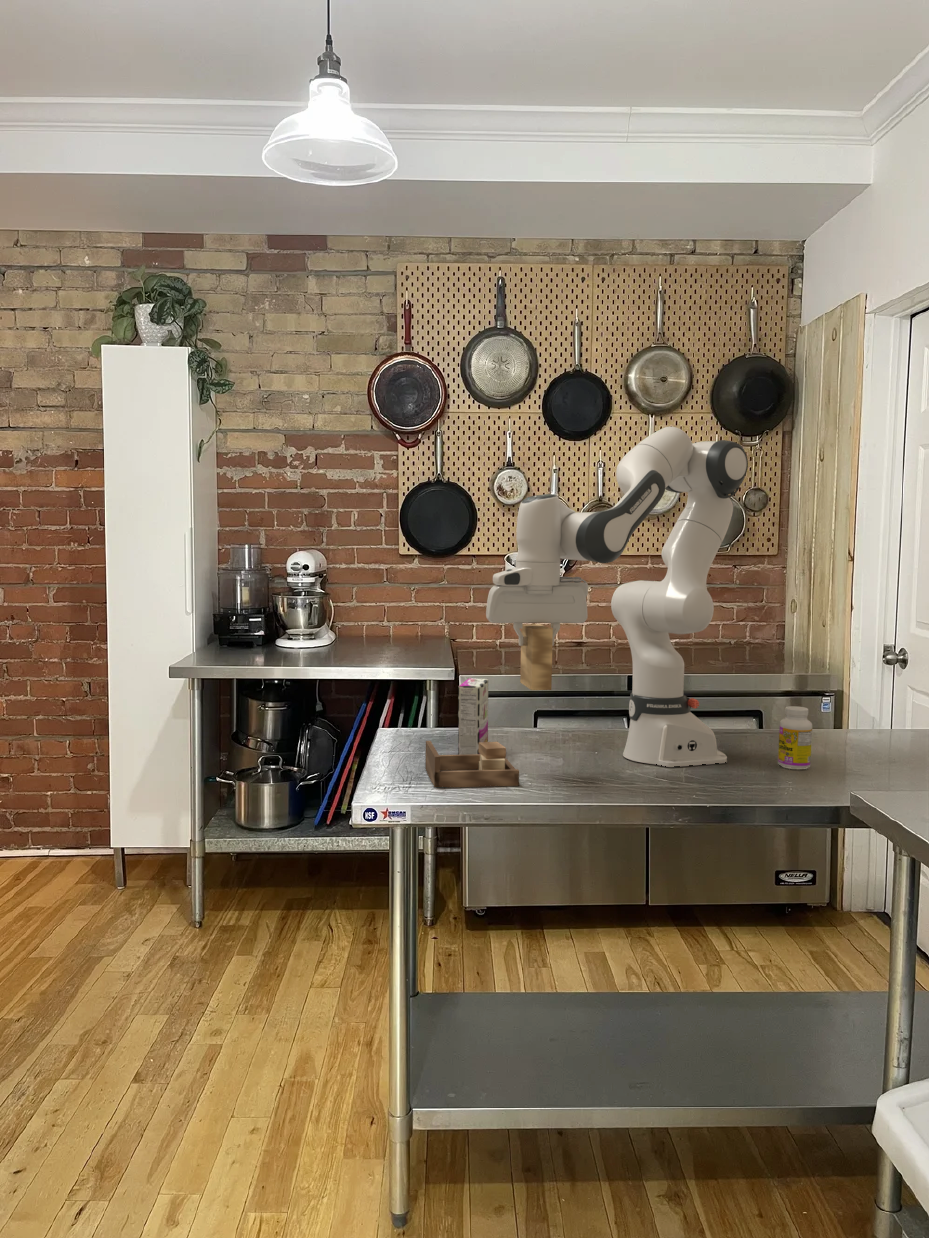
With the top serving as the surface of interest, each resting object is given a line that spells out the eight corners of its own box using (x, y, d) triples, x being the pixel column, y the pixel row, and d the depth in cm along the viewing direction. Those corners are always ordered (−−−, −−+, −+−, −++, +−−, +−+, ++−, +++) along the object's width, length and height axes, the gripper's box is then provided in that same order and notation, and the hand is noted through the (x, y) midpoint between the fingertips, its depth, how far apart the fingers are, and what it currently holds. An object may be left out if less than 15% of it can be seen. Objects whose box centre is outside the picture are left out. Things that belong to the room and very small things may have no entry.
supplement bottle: (771, 764, 206) (774, 705, 205) (798, 762, 208) (801, 704, 207) (789, 771, 200) (792, 711, 199) (816, 770, 201) (819, 710, 200)
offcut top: (497, 751, 194) (497, 741, 194) (505, 757, 188) (505, 747, 188) (478, 752, 193) (478, 742, 193) (486, 758, 187) (486, 748, 187)
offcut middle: (501, 763, 195) (502, 751, 194) (504, 772, 187) (504, 760, 186) (479, 763, 194) (480, 750, 194) (481, 772, 187) (482, 760, 186)
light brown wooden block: (539, 682, 196) (540, 624, 195) (551, 689, 186) (552, 629, 185) (520, 682, 195) (521, 624, 194) (531, 690, 185) (532, 629, 184)
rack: (503, 767, 198) (504, 739, 198) (518, 785, 184) (519, 755, 184) (425, 769, 196) (425, 740, 195) (434, 787, 182) (434, 756, 181)
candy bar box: (466, 749, 216) (467, 677, 214) (488, 750, 215) (489, 678, 213) (456, 760, 205) (457, 684, 203) (479, 761, 204) (480, 685, 202)
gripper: (583, 576, 194) (582, 643, 195) (485, 575, 190) (483, 643, 191) (592, 577, 187) (591, 647, 188) (491, 576, 184) (489, 647, 185)
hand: (536, 645), depth 190 cm, fingers closed on light brown wooden block, 4 cm apart
